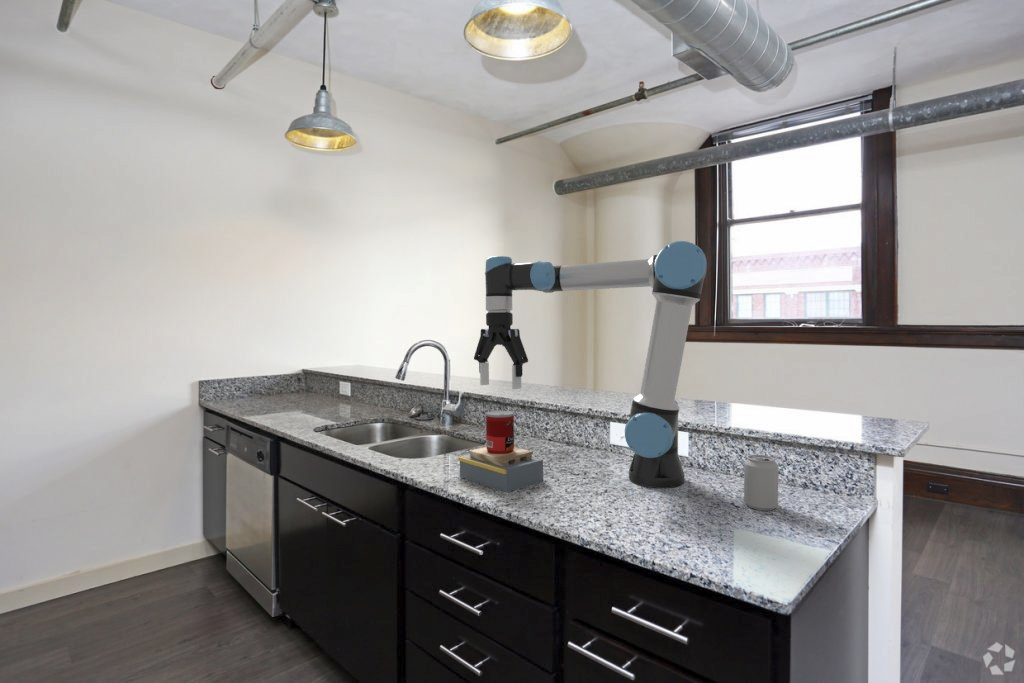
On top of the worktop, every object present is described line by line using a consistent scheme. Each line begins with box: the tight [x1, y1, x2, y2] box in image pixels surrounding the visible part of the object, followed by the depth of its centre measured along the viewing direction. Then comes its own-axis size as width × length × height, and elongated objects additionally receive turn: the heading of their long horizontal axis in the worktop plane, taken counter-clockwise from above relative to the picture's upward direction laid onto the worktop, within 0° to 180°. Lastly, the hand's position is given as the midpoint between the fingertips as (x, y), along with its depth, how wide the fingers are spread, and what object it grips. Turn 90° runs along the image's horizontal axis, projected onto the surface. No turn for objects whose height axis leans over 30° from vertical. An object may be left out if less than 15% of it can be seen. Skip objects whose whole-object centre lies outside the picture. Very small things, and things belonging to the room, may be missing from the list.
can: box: [743, 454, 779, 512], centre depth 128 cm, size 8×8×12 cm
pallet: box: [468, 446, 534, 466], centre depth 152 cm, size 14×12×2 cm
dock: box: [457, 453, 544, 493], centre depth 152 cm, size 20×15×6 cm
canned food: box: [485, 410, 515, 454], centre depth 152 cm, size 8×8×11 cm
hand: (500, 386), depth 151 cm, fingers open, 13 cm apart
